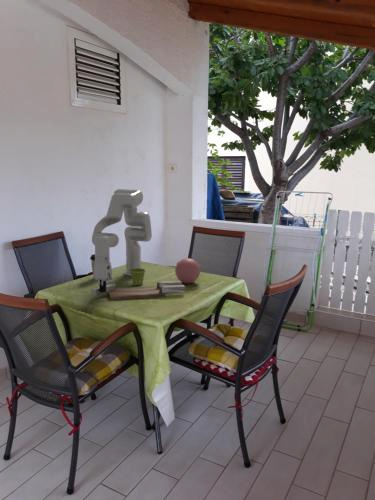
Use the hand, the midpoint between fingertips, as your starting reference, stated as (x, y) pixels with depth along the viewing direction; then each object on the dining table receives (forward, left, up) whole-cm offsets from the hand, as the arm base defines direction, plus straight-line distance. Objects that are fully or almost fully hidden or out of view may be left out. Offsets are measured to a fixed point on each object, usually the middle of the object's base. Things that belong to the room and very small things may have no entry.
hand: (102, 291), depth 218 cm
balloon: (-23, +52, -4) cm, 57 cm away
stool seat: (-4, +24, -4) cm, 25 cm away
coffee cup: (-38, -1, -4) cm, 38 cm away
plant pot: (-23, +22, -4) cm, 32 cm away
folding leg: (-5, +1, -1) cm, 5 cm away
